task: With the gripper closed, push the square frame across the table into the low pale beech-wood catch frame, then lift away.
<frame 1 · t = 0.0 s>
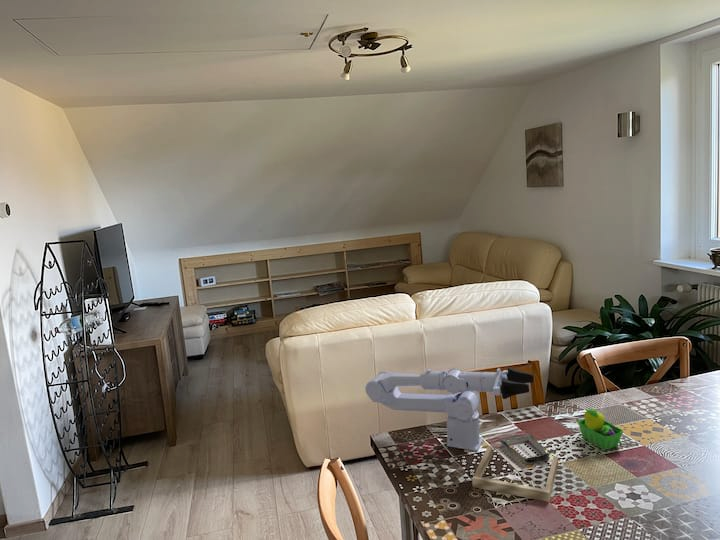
hand: (531, 383, 157), 22 cm above the table, tool horizontal, fingers open, 7 cm apart
catch frame: (516, 474, 151), on the table
fruit basket: (598, 442, 165), on the table
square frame: (525, 454, 162), on the table
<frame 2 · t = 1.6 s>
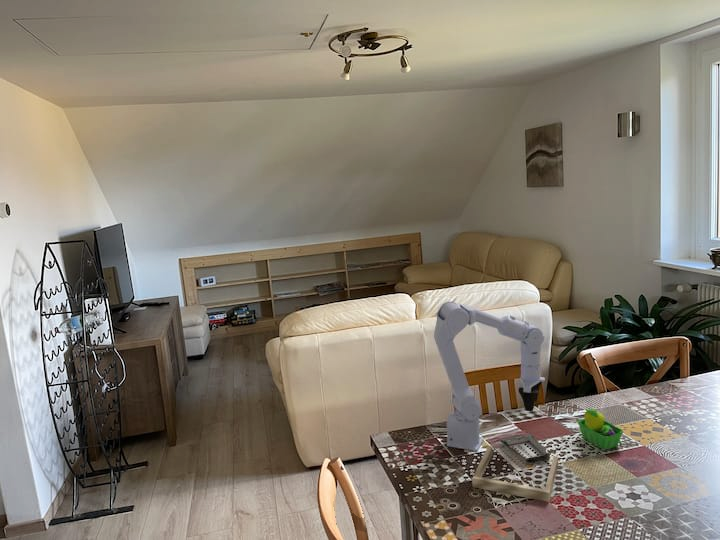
hand: (531, 405, 171), 9 cm above the table, tool pointing down, fingers open, 7 cm apart
nothing on the table moved.
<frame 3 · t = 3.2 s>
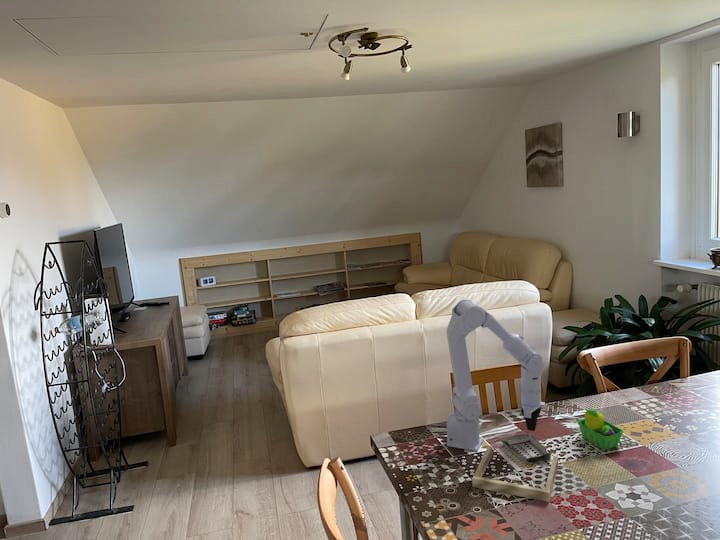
hand: (531, 429, 172), 1 cm above the table, tool pointing down, fingers closed
nothing on the table moved.
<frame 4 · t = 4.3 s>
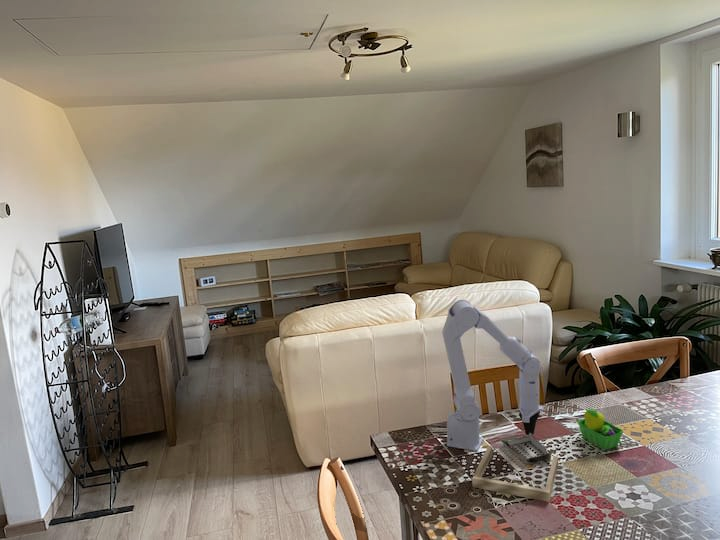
hand: (529, 434, 170), 1 cm above the table, tool pointing down, fingers closed
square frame: (526, 454, 162), on the table, touching gripper
everything else where it was.
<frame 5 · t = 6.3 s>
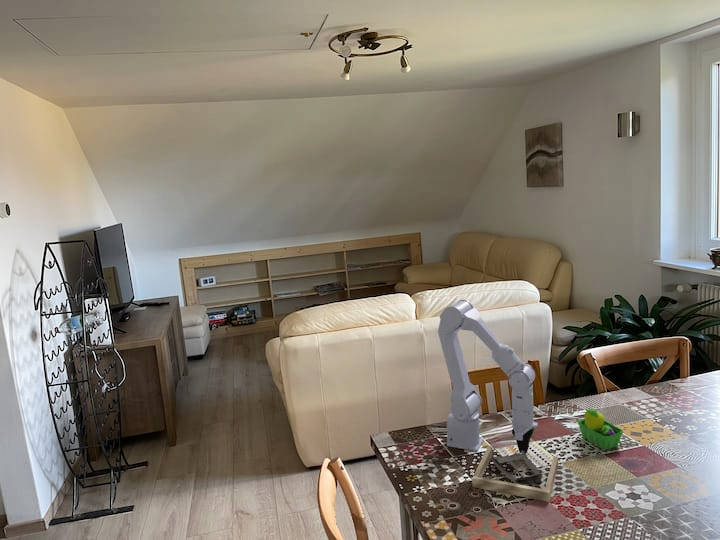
hand: (523, 451, 160), 1 cm above the table, tool pointing down, fingers closed
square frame: (516, 473, 152), on the table, touching gripper
everything else where it was.
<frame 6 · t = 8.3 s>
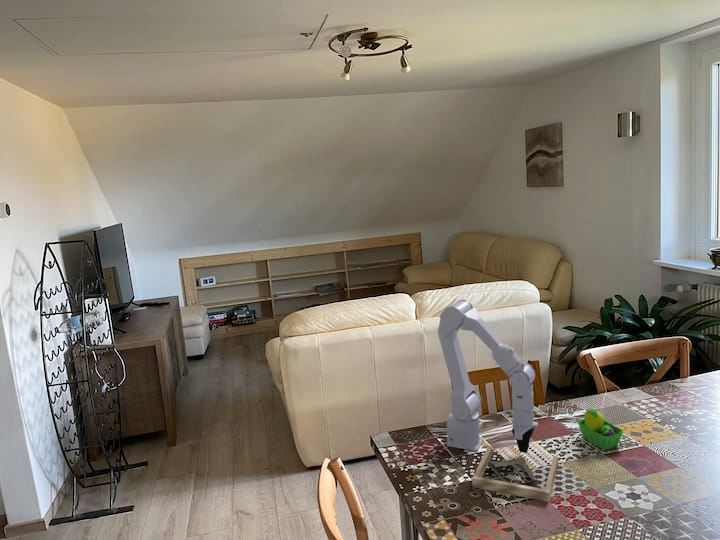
hand: (523, 451, 160), 1 cm above the table, tool pointing down, fingers closed
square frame: (513, 479, 150), on the table
everything else where it was.
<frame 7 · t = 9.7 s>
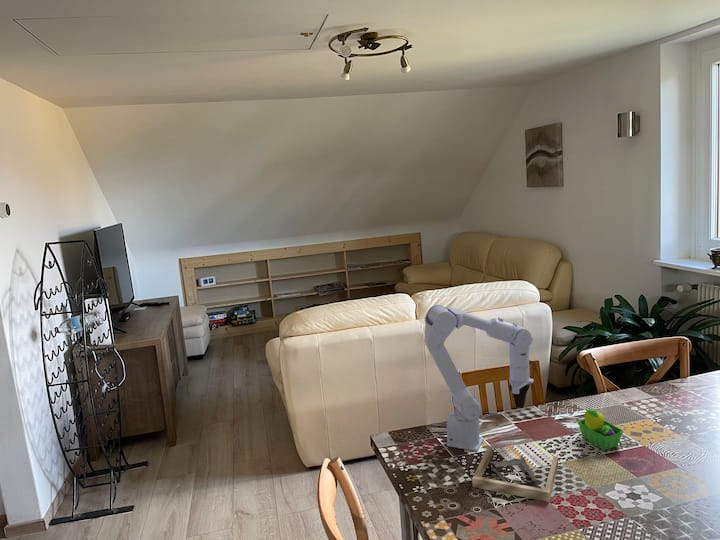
hand: (520, 407, 171), 9 cm above the table, tool pointing down, fingers closed
nothing on the table moved.
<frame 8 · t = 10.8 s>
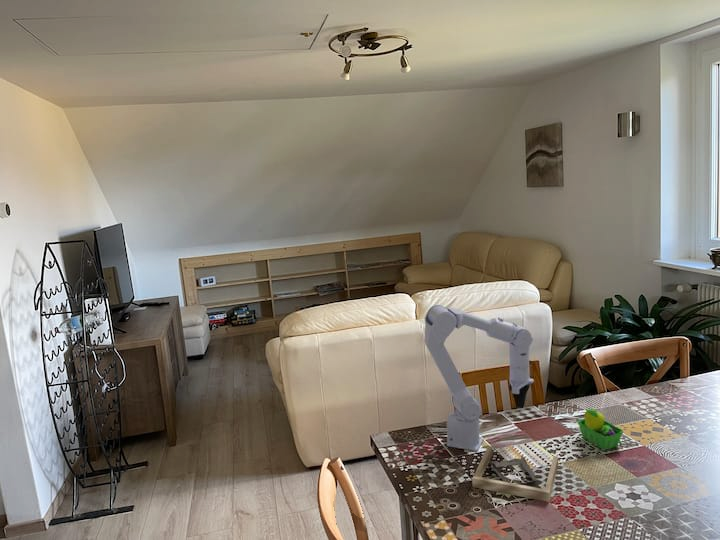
hand: (520, 407, 171), 9 cm above the table, tool pointing down, fingers closed
nothing on the table moved.
at the end: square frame inside the target area (0.5 cm from its centre), on the table; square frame tilted 0° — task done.
